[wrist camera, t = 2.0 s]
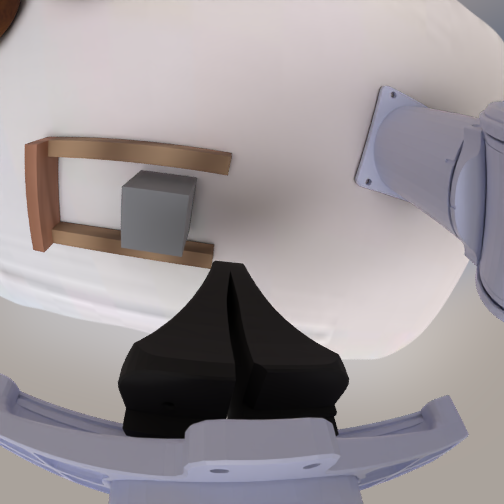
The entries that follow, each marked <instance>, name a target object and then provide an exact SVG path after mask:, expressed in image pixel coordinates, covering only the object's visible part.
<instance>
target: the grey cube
mask: <svg viewBox="0 0 504 504" xmlns="http://www.w3.org/2000/svg"><path fill="white" fill-rule="evenodd" d="M196 179H197V178H196V177H189V176H182V175H174V174H167V173H159V172H151V171H142V170H141V171H140V172H139V173H138V174H136V175H135V176H134V177H133V178H132V179H130V180H129V181H128V182H127V183H126V184H124V185H123V186H122V198H121V248H127V249H134V250H140V251H146V252H152V253H159V254H165V255H172V256H178V257H182V254H183V251H184V247H185V243H186V240H187V236H188V233H189V228H190V221H191V213H192V206H193V199H194V192H195V186H196Z"/></svg>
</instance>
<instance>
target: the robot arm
mask: <svg viewBox="0 0 504 504" xmlns="http://www.w3.org/2000/svg"><path fill="white" fill-rule="evenodd" d="M391 92H393V94H394V97H393V98H392V97H391ZM367 179H369V183H368V184H366V180H367ZM355 181H356V183H357V184H358V185H359V186H361V187H364V188H368V189H371V190H374V191H377V192H380V193H384V194H387V195H390V196H393V197H396V198H399V199H402V200H405V201H408V202H410V203H412V204H413V205H415V206H416V207H418V208H419V209H420V210H422V211H423V212H425V213H426V214H427V215H429V216H430V217H431V218H433V219H434V220H435V221H437V222H438V223H439V224H441V225H442V226H443V227H445V228H446V229H447V230H448V231H450V232H451V233H452V234H453V235H455V236H456V237H457V238H458V239H460V240H461V241H462V242H463V244H464V248H465V256H466V257H467V258H468V259H470V260H471V261H472V262H473V263H474V264H475V265H476V266H477V269H476V277H475V278H476V279H475V280H476V287H477V291H478V294H479V296H480V299H481V300H482V302H483V303H484V305H485V306H486V307H487V308H488V310H489V311H490V312H491V313H492V314H493V315H495V316H496V317H497V318H498V319H500V320H501V321H503V322H504V101H496V102H492V103H490V104H489V105H488V106H487V107H486V109H485V110H483V111H482V112H481V113H480V115H479V118H476V117H472V116H467V115H463V114H458V113H453V112H448V111H442V110H436V109H430V108H428V107H427V106H425V105H423V104H422V103H420V102H418V101H416V100H415V99H413V98H411V97H409V96H407V95H405V94H404V93H402V92H400V91H398V90H396V89H394V88H392V87H390V86H382V87H381V89H380V92H379V96H378V101H377V104H376V108H375V112H374V116H373V120H372V123H371V127H370V131H369V134H368V138H367V141H366V145H365V148H364V151H363V155H362V158H361V161H360V165H359V168H358V171H357V174H356V177H355ZM348 384H349V377H348V375H347V372H346V369H345V367H344V364H343V362H342V360H341V358H340V356H339V354H337V353H335V352H333V351H331V350H329V349H327V348H325V347H324V346H322V345H320V344H318V343H316V342H315V341H313V340H312V339H310V338H309V337H307V336H306V335H304V334H303V333H302V332H300V331H299V330H298V329H296V328H295V327H294V326H293V325H291V324H290V323H289V322H288V321H287V320H285V319H284V318H283V317H282V316H281V315H280V314H279V313H278V312H277V311H276V310H275V309H274V308H273V307H272V305H271V304H270V303H269V302H268V301H267V299H266V298H265V297H264V295H263V294H262V293H261V291H260V290H259V288H258V287H257V286H256V284H255V282H254V281H253V279H252V278H251V276H250V274H249V273H248V271H247V269H246V267H245V266H244V264H241V263H232V262H222V261H214V262H213V263H212V267H211V269H210V272H209V274H208V275H207V277H206V279H205V281H204V282H203V284H202V285H201V287H200V288H199V290H198V291H197V292H196V294H195V295H194V296H193V298H192V299H191V300H190V301H189V302H188V303H187V305H186V306H185V307H184V308H183V309H182V310H181V311H180V312H179V313H178V314H176V315H175V316H174V317H173V318H172V319H171V320H170V321H168V322H167V323H166V324H164V325H163V326H162V327H160V328H159V329H158V330H156V331H155V332H153V333H152V334H150V335H148V336H146V337H145V338H143V339H141V340H140V341H137V342H135V343H134V344H133V346H132V348H131V349H130V351H129V353H128V355H127V357H126V359H125V362H124V364H123V366H122V369H121V373H120V377H119V381H118V388H119V391H120V394H121V396H122V399H123V401H124V404H125V406H126V412H125V417H124V422H123V424H122V423H117V422H113V421H108V420H105V419H101V418H97V417H93V416H89V415H85V414H82V413H79V412H76V411H72V410H69V409H66V408H63V407H60V406H57V405H54V404H51V403H49V402H46V401H43V400H41V399H38V398H36V397H33V396H31V395H28V394H26V393H24V392H21V391H20V390H19V388H18V387H17V385H16V384H15V383H14V381H13V380H11V379H10V378H9V377H7V376H5V375H3V374H1V373H0V446H2V447H4V448H5V449H7V450H9V451H10V452H12V453H14V454H16V455H18V456H19V457H21V458H23V459H25V460H27V461H29V462H31V463H33V464H35V465H37V466H39V467H41V468H43V469H45V470H47V471H49V472H51V473H54V474H56V475H58V476H60V477H63V478H65V479H68V480H70V481H73V482H75V483H78V484H80V485H83V486H86V487H89V488H92V489H94V490H97V491H101V492H104V493H107V494H109V504H363V501H362V497H361V494H360V490H363V489H366V488H369V487H372V486H375V485H378V484H381V483H383V482H386V481H389V480H391V479H394V478H396V477H399V476H401V475H403V474H406V473H408V472H410V471H413V470H415V469H417V468H419V467H422V466H424V465H426V464H428V463H430V462H432V461H434V460H436V459H437V458H439V457H440V456H442V455H443V454H445V453H446V452H448V451H449V450H451V449H452V448H453V447H455V446H456V445H457V444H459V443H460V442H461V441H463V440H464V439H465V438H467V437H468V435H469V434H468V432H467V430H466V428H465V426H464V423H463V421H462V419H461V417H460V415H459V413H458V411H457V409H456V407H455V406H454V404H453V402H452V400H451V398H450V396H449V395H446V396H443V397H440V398H437V399H434V400H432V401H430V402H428V403H427V404H426V405H425V406H424V407H423V408H422V409H421V411H419V412H415V413H412V414H408V415H405V416H401V417H397V418H394V419H390V420H385V421H381V422H376V423H372V424H367V425H362V426H357V427H351V428H345V429H340V430H338V429H337V426H336V422H335V419H334V416H335V415H336V413H337V411H336V408H335V403H336V402H337V400H338V399H339V398H340V396H341V395H342V394H343V393H344V391H345V390H346V388H347V386H348ZM227 417H228V418H227ZM226 418H227V419H226Z"/></svg>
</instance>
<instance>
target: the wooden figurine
mask: <svg viewBox="0 0 504 504" xmlns="http://www.w3.org/2000/svg"><path fill="white" fill-rule="evenodd" d="M19 4H20V0H0V37H1V36H2V35H3V33H4V32H5V31H6V30H7V28H8V27H9V26H10V24H11V22H12V21H13V19H14V17H15V15H16V13H17V10H18V7H19Z"/></svg>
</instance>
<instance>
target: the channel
mask: <svg viewBox="0 0 504 504" xmlns="http://www.w3.org/2000/svg"><path fill="white" fill-rule="evenodd" d="M58 157H70V158H87V159H101V160H114V161H124V162H134V163H144V164H153V165H161V166H169V167H176V168H184V169H191V170H197V171H204V172H210V173H217V174H223V175H228V172H229V167H230V162H231V157H232V156H231V153H228V152H222V151H216V150H210V149H203V148H197V147H190V146H182V145H174V144H166V143H157V142H147V141H136V140H124V139H109V138H88V137H46V138H43V139H40V140H37V141H34V142H31V143H28V144H25V183H26V198H27V208H28V217H29V225H30V232H31V239H32V244H33V250H36V251H41V252H45V251H46V250H47V249H48V248H49V247H50V246H51V245H52V244H53V243H57V244H62V245H68V246H73V247H79V248H84V249H90V250H96V251H101V252H107V253H113V254H119V255H125V256H131V257H137V258H143V259H150V260H156V261H162V262H169V263H175V264H182V265H188V266H195V267H202V268H208V269H211V265H212V259H213V251H214V245H213V244H206V243H199V242H193V241H186V243H185V247H184V251H183V254H182V257H178V256H172V255H165V254H159V253H152V252H146V251H140V250H134V249H127V248H121V231H120V230H113V229H107V228H100V227H94V226H87V225H80V224H74V223H67V222H60V211H59V191H58Z"/></svg>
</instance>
